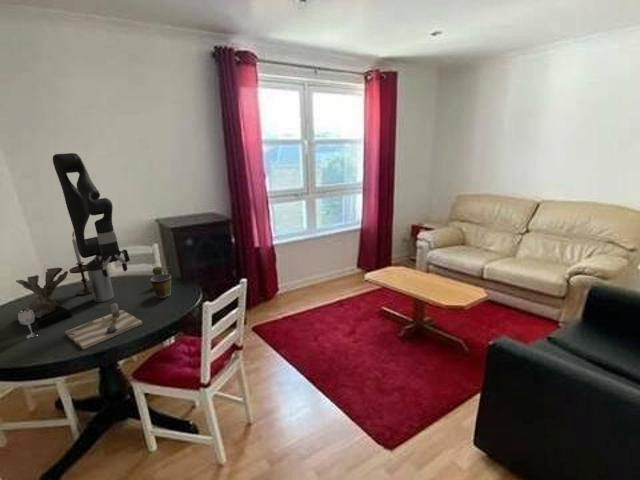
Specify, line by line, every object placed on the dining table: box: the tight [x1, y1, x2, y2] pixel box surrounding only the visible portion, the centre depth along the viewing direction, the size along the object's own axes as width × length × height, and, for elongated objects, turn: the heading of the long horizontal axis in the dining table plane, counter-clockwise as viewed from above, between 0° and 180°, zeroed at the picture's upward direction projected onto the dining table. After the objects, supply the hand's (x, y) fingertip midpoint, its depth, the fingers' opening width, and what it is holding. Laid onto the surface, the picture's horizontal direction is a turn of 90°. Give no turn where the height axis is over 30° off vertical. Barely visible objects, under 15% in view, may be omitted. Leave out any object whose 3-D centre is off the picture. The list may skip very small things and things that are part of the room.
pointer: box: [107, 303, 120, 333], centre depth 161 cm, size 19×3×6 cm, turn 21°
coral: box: [15, 267, 73, 330], centre depth 175 cm, size 25×20×21 cm
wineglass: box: [17, 307, 40, 339], centre depth 157 cm, size 6×6×12 cm
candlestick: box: [68, 230, 93, 297], centre depth 197 cm, size 11×11×35 cm
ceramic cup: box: [150, 273, 172, 299], centre depth 192 cm, size 13×10×10 cm
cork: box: [152, 266, 164, 277], centre depth 204 cm, size 6×6×11 cm
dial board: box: [64, 309, 143, 350], centre depth 160 cm, size 20×24×2 cm
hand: (115, 273), depth 174 cm, fingers open, 8 cm apart
